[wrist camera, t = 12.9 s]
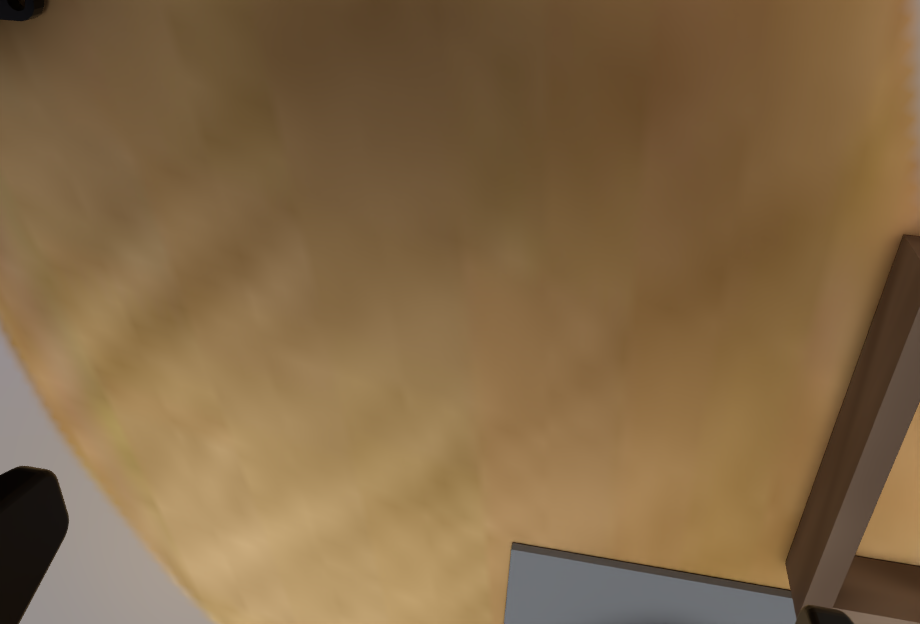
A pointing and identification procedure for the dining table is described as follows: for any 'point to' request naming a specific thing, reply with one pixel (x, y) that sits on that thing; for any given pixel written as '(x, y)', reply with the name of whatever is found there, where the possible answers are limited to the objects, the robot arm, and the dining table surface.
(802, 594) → the walnut holder frame
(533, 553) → the charcoal mat
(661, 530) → the dining table surface
